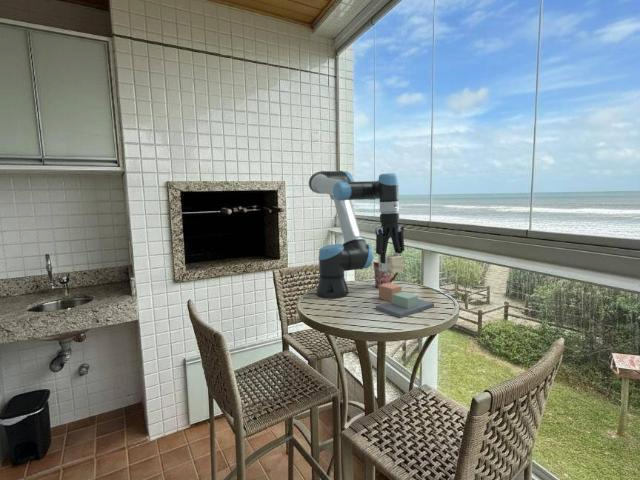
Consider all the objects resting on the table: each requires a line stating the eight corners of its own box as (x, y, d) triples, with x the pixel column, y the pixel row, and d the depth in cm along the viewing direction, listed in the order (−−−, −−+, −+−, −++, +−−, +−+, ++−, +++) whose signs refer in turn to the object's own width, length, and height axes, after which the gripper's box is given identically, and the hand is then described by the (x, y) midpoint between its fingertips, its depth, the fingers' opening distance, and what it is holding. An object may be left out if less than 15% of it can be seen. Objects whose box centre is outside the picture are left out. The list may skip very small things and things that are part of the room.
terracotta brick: (378, 298, 150) (378, 285, 150) (388, 295, 154) (388, 283, 153) (391, 302, 144) (391, 288, 143) (401, 299, 147) (401, 286, 146)
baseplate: (375, 309, 135) (375, 296, 134) (409, 299, 146) (408, 287, 146) (400, 318, 124) (400, 303, 124) (434, 306, 136) (434, 293, 135)
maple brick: (378, 270, 136) (378, 256, 136) (389, 268, 140) (389, 254, 139) (392, 273, 130) (392, 258, 129) (403, 271, 133) (403, 256, 132)
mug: (374, 289, 164) (373, 262, 163) (372, 284, 173) (372, 259, 172) (400, 289, 163) (400, 262, 162) (397, 284, 172) (397, 258, 171)
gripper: (377, 213, 124) (379, 274, 126) (413, 211, 134) (414, 268, 137) (364, 214, 131) (366, 272, 133) (399, 212, 141) (400, 265, 143)
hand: (390, 269), depth 135 cm, fingers closed on maple brick, 6 cm apart
